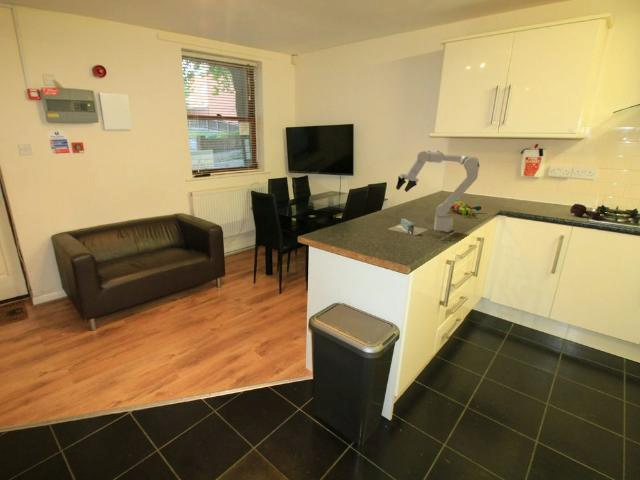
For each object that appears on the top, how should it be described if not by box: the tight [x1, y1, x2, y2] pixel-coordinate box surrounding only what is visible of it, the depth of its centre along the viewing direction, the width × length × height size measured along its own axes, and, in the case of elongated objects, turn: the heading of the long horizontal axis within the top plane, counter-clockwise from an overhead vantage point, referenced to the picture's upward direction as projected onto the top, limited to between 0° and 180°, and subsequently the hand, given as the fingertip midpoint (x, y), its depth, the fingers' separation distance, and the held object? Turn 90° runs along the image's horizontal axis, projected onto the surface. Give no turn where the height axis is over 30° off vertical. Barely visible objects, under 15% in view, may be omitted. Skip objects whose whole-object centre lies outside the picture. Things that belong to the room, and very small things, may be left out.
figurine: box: [569, 203, 605, 221], centre depth 225 cm, size 10×8×18 cm
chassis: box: [388, 223, 429, 236], centre depth 193 cm, size 18×15×5 cm
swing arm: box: [400, 218, 417, 230], centre depth 191 cm, size 16×4×4 cm, turn 6°
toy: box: [450, 200, 482, 218], centre depth 239 cm, size 24×28×8 cm
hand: (401, 190), depth 199 cm, fingers open, 7 cm apart
